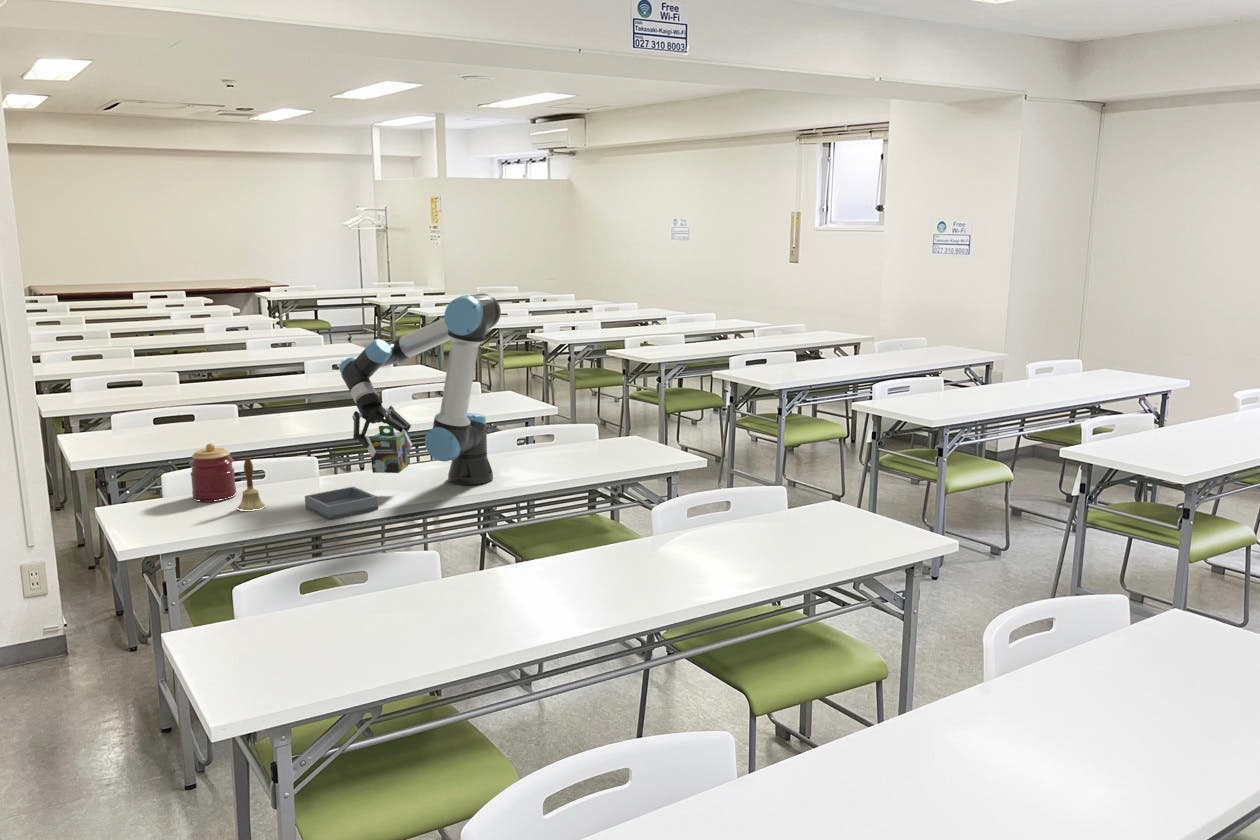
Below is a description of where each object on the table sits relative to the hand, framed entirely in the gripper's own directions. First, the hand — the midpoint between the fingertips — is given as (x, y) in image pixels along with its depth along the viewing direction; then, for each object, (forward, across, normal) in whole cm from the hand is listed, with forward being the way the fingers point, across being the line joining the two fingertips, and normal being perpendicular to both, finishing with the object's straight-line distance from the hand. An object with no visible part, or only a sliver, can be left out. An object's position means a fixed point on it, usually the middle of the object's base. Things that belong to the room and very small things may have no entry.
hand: (392, 451), depth 310 cm
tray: (+12, +20, -8) cm, 25 cm away
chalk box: (+3, 0, -6) cm, 7 cm away
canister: (-17, +44, -36) cm, 59 cm away
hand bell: (-2, +40, -22) cm, 46 cm away
